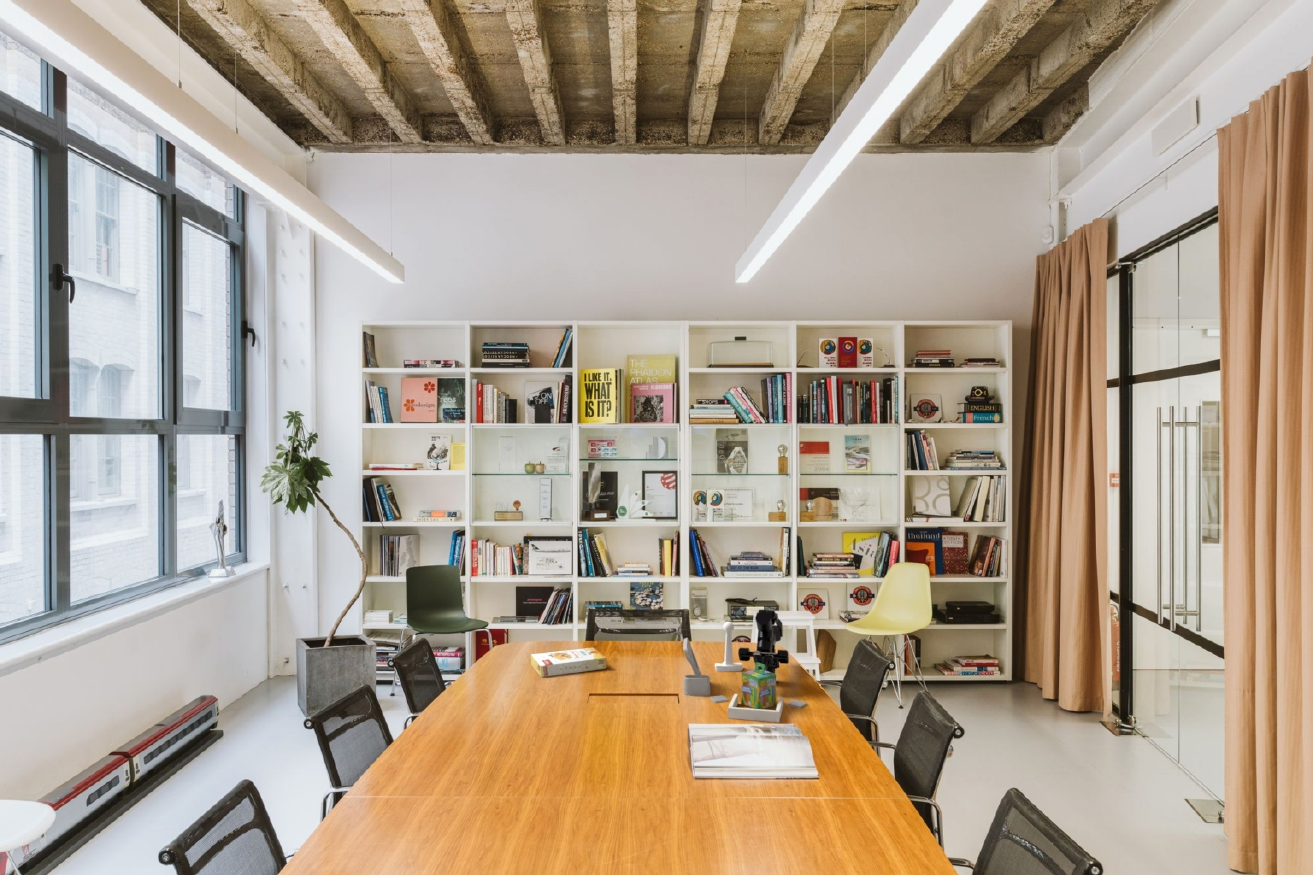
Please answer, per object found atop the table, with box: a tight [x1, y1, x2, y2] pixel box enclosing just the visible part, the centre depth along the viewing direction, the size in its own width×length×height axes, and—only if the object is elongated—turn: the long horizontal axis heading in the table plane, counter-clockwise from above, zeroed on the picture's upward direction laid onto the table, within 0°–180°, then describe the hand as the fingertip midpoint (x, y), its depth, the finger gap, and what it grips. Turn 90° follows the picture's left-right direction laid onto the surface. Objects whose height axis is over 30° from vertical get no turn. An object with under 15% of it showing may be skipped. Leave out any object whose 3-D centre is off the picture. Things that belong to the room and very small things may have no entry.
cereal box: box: [530, 646, 607, 678], centre depth 325 cm, size 20×6×28 cm
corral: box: [727, 693, 784, 723], centre depth 269 cm, size 15×17×4 cm
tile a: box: [787, 699, 808, 709], centre depth 276 cm, size 5×5×1 cm
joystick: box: [714, 621, 743, 673], centre depth 320 cm, size 11×8×20 cm
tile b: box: [709, 694, 729, 704], centre depth 282 cm, size 5×5×1 cm
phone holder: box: [682, 637, 711, 697], centre depth 296 cm, size 17×10×18 cm, turn 177°
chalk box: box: [740, 663, 777, 710], centre depth 276 cm, size 9×9×15 cm
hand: (761, 675), depth 286 cm, fingers closed
